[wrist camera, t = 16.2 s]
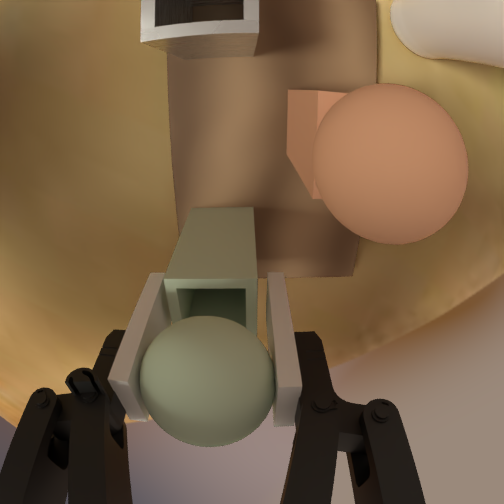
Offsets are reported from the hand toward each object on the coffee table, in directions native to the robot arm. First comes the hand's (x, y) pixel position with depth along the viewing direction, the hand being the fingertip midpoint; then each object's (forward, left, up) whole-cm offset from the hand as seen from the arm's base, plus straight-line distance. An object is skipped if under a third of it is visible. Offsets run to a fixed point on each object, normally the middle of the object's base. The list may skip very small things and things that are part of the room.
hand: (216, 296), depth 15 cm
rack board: (+3, +7, -8) cm, 11 cm away
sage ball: (0, 0, +3) cm, 3 cm away
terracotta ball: (+6, +8, +1) cm, 10 cm away
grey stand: (0, +14, -7) cm, 15 cm away
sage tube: (0, 0, -7) cm, 7 cm away
